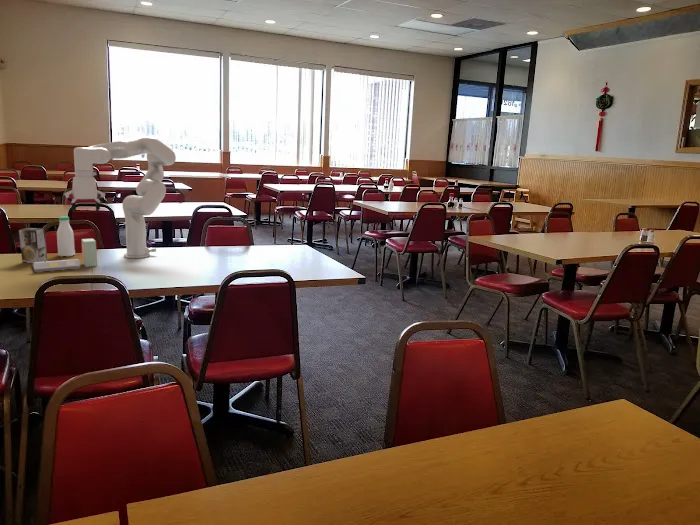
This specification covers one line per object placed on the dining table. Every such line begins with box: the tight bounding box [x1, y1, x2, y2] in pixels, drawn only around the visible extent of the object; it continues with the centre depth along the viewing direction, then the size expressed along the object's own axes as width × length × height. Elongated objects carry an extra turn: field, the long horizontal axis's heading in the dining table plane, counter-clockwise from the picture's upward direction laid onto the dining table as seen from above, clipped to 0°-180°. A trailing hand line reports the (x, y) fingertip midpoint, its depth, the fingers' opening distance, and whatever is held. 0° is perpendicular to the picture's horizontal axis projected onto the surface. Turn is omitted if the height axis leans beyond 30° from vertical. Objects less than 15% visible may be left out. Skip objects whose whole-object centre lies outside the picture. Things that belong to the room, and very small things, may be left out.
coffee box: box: [18, 227, 48, 264], centre depth 261 cm, size 9×6×16 cm
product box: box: [81, 238, 98, 268], centre depth 259 cm, size 5×8×12 cm, turn 33°
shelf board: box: [32, 258, 81, 273], centre depth 251 cm, size 18×15×4 cm
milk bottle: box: [56, 215, 76, 257], centre depth 277 cm, size 8×8×20 cm
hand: (86, 211), depth 255 cm, fingers open, 9 cm apart
